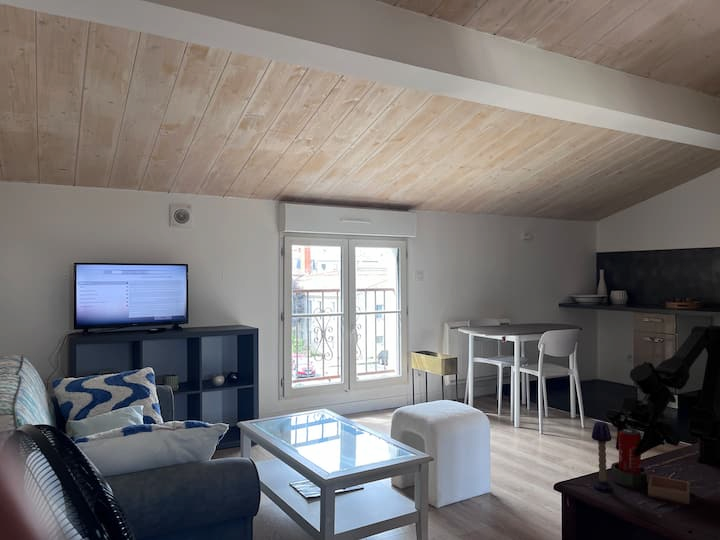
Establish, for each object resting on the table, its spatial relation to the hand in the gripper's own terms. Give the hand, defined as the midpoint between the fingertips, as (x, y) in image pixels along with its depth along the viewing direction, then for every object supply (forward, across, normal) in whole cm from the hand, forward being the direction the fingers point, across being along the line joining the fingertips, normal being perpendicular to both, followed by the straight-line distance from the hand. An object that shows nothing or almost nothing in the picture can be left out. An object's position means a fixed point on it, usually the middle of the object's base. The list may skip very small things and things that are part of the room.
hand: (626, 452), depth 143 cm
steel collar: (+5, 0, +6) cm, 8 cm away
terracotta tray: (+4, +10, +7) cm, 13 cm away
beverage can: (+4, 0, +6) cm, 7 cm away
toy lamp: (+12, 0, -1) cm, 12 cm away
